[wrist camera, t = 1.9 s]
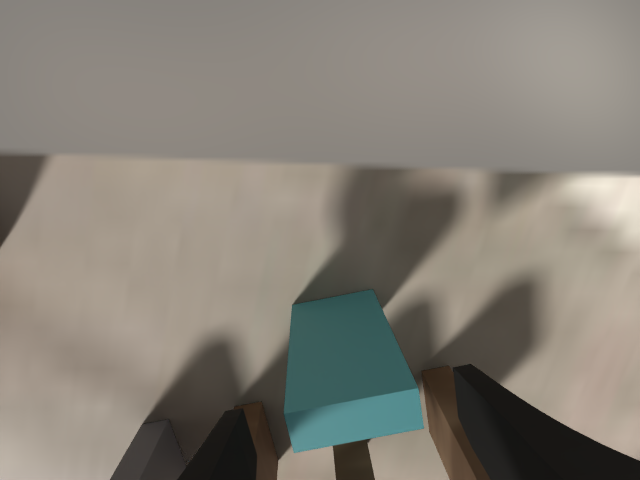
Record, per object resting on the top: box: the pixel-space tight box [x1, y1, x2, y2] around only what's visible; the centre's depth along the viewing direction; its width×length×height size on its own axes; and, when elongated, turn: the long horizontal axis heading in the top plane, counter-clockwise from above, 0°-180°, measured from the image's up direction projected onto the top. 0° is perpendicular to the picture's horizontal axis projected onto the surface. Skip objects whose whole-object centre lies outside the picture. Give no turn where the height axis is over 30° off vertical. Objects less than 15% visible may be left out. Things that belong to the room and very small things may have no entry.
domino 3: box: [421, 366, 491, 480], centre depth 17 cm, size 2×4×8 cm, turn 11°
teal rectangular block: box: [284, 289, 424, 453], centre depth 16 cm, size 2×4×8 cm, turn 102°
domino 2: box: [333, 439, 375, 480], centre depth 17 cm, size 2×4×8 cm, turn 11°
